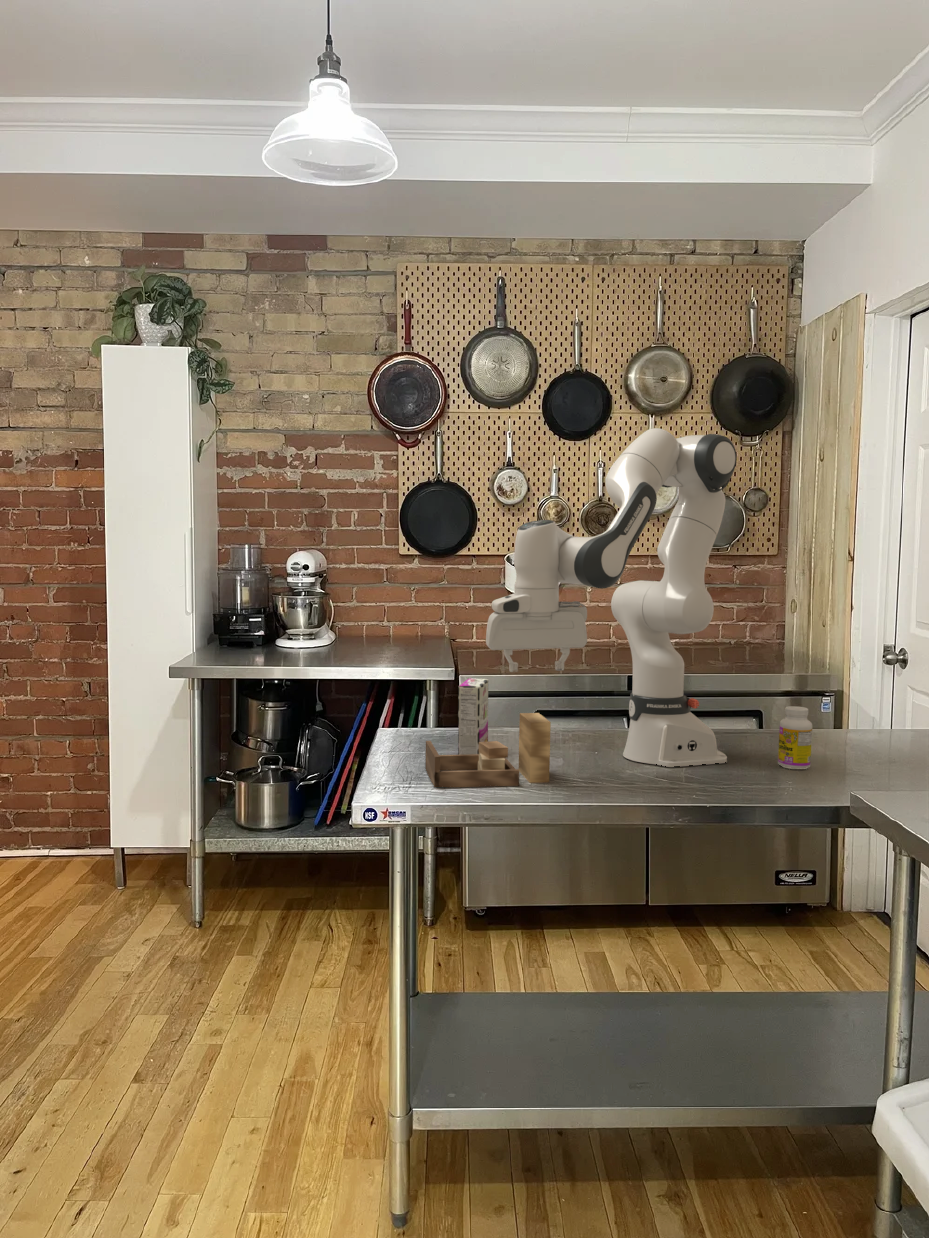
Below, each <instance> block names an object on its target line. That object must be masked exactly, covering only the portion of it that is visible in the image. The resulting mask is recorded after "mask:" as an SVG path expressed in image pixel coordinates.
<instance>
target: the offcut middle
mask: <svg viewBox="0 0 929 1238" xmlns="http://www.w3.org/2000/svg"><path fill="white" fill-rule="evenodd" d="M479 765H480V768H481V770H505V759H504V758H490V759H489V758H487V757H486V756H484V755H483V754H481V753H480V752H479Z"/></svg>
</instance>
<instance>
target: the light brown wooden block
mask: <svg viewBox="0 0 929 1238" xmlns="http://www.w3.org/2000/svg"><path fill="white" fill-rule="evenodd" d="M518 724H519V726H518V727H519V734H518V768H517V769H518V770H519V774H521V775H522V776H523V778H524V779H526V780H527V782H528V783H529V784H530V783H531V784H534V783H537V784H538V783H550V767H551V766H550V764H551V758H550V757H551V728H552V727H551V724H552V723H551V721H550V720H548V718H546V717H545V716H544V715H542V714H540V712H520V713H519V723H518Z"/></svg>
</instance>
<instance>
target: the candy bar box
mask: <svg viewBox="0 0 929 1238" xmlns="http://www.w3.org/2000/svg"><path fill="white" fill-rule="evenodd" d="M457 690H458V695H457V696H458V698H457V699H458V702H457V703H458V707H457V708H458V713H457V715H458V716H457V717H458V719H457V722H458V726H457V727H458V728H457V729H458V732H457V733H458V734H457V735H458V736H457V737H458V738H457V740H458V741H457V742H458V743H457V745H458V747H457V749H458V750H457V753H458V754H457V755H467V754H479V742H489V678H488V679H487V678H479V677H478V678H475V677H473V678H472V677H470V678H467V679H466V680H465V681H463V682H461V684H460V685H458V689H457Z"/></svg>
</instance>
